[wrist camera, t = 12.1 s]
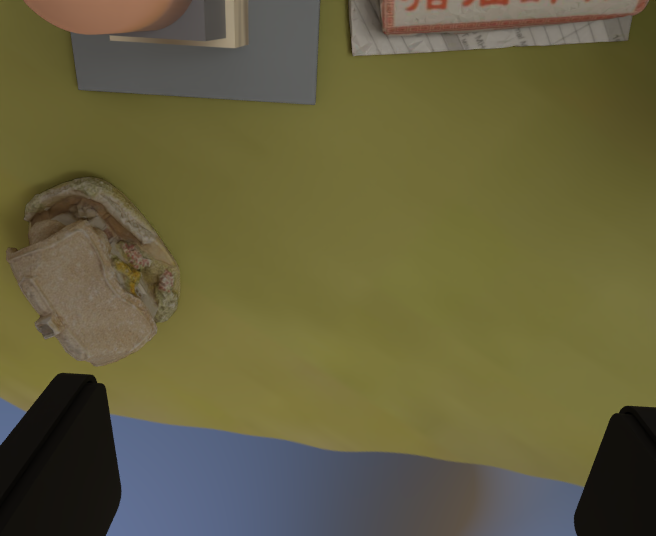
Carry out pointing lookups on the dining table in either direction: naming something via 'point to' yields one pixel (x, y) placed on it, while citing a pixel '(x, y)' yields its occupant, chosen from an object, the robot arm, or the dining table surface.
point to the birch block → (234, 38)
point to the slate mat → (214, 60)
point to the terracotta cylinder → (109, 14)
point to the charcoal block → (192, 24)
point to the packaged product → (484, 24)
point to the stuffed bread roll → (94, 271)
